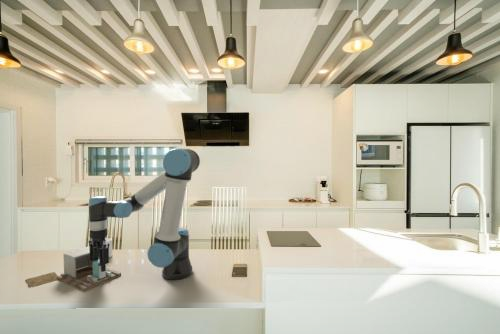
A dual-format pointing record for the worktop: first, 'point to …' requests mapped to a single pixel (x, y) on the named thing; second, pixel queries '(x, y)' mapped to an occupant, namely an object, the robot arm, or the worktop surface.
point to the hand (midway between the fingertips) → (99, 276)
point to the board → (87, 278)
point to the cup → (109, 240)
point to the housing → (76, 261)
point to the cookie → (41, 279)
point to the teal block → (96, 268)
